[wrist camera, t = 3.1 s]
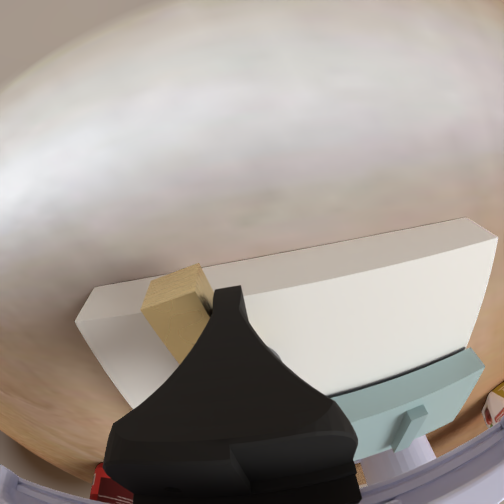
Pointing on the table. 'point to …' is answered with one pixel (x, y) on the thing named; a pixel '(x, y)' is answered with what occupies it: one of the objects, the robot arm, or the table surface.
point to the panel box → (321, 309)
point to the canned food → (108, 489)
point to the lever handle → (179, 308)
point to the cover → (410, 404)
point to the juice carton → (494, 406)
